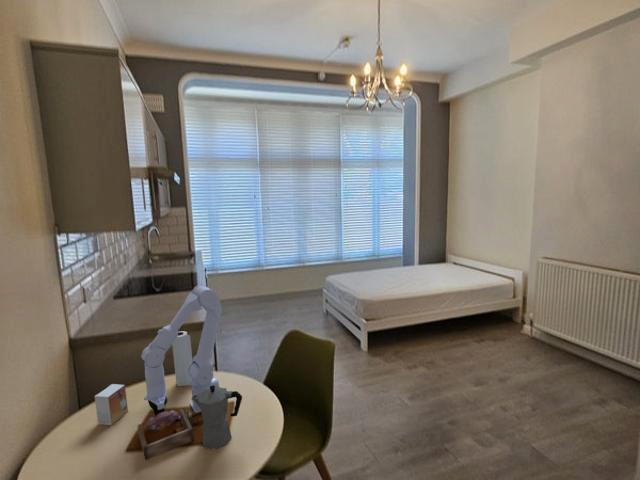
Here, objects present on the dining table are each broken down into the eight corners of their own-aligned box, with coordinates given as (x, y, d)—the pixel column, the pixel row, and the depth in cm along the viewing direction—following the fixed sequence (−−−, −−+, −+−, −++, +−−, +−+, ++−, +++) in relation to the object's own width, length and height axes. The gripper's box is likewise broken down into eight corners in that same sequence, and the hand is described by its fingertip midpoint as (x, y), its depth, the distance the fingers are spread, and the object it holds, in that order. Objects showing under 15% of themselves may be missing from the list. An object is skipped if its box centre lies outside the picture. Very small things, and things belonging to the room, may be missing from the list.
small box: (111, 426, 119) (107, 397, 118) (97, 424, 120) (93, 396, 119) (128, 411, 127) (125, 384, 125) (115, 410, 128) (112, 383, 127)
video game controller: (147, 439, 114) (147, 426, 111) (144, 426, 117) (144, 414, 114) (179, 426, 120) (179, 414, 116) (175, 415, 123) (176, 402, 119)
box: (183, 419, 121) (182, 408, 120) (193, 440, 110) (192, 428, 110) (138, 436, 113) (137, 425, 113) (145, 460, 103) (143, 448, 102)
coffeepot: (191, 452, 105) (185, 396, 103) (199, 431, 115) (194, 379, 112) (242, 447, 106) (238, 392, 104) (247, 427, 116) (243, 376, 113)
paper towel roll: (174, 382, 146) (169, 333, 143) (189, 377, 149) (184, 329, 146) (179, 389, 140) (174, 338, 137) (194, 384, 143) (189, 334, 140)
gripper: (139, 376, 122) (143, 412, 124) (145, 395, 110) (150, 434, 112) (161, 369, 126) (165, 404, 128) (169, 387, 114) (173, 425, 116)
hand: (159, 418), depth 120 cm, fingers closed
